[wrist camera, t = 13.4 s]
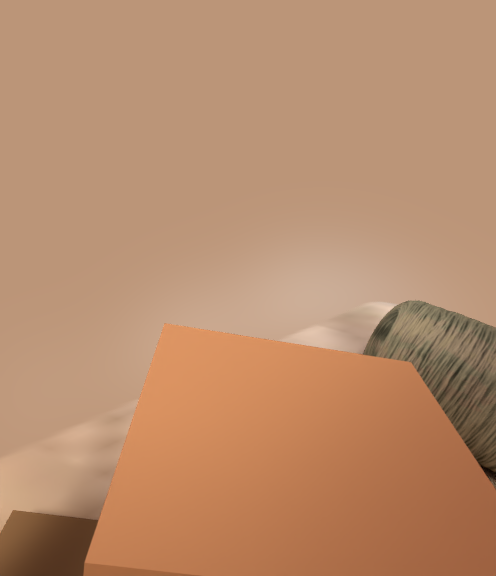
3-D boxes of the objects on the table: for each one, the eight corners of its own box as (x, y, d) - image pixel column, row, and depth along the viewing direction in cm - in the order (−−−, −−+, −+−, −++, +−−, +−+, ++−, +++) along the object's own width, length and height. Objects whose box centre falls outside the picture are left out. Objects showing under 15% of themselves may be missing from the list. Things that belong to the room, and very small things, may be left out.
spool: (316, 349, 33) (420, 244, 31) (367, 373, 40) (454, 289, 38) (468, 531, 24) (626, 402, 22) (498, 519, 31) (619, 421, 29)
